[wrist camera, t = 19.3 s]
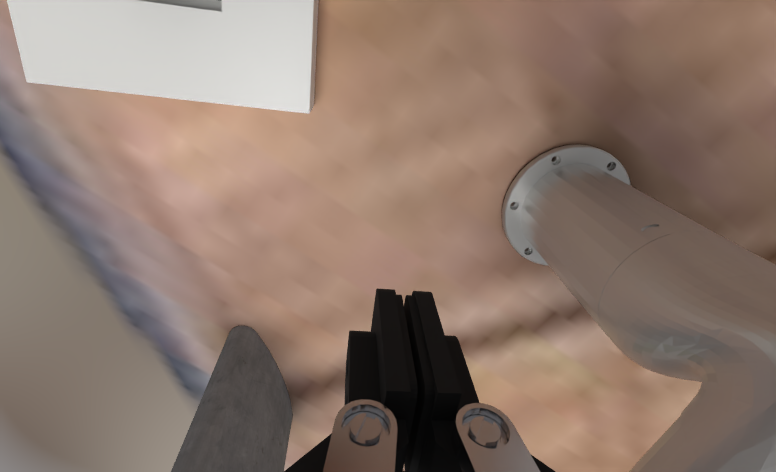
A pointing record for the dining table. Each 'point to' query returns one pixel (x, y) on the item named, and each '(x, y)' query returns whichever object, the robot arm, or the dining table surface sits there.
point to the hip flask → (240, 413)
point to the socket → (174, 48)
